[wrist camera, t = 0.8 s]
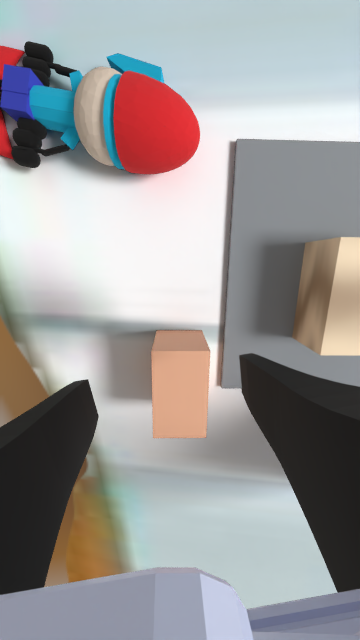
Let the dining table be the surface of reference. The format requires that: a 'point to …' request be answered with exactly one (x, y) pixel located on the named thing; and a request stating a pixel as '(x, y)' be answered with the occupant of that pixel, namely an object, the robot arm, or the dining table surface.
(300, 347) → the build plate
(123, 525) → the dining table surface
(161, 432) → the terracotta brick
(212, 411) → the dining table surface
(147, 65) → the toy figure
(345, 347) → the oak brick
